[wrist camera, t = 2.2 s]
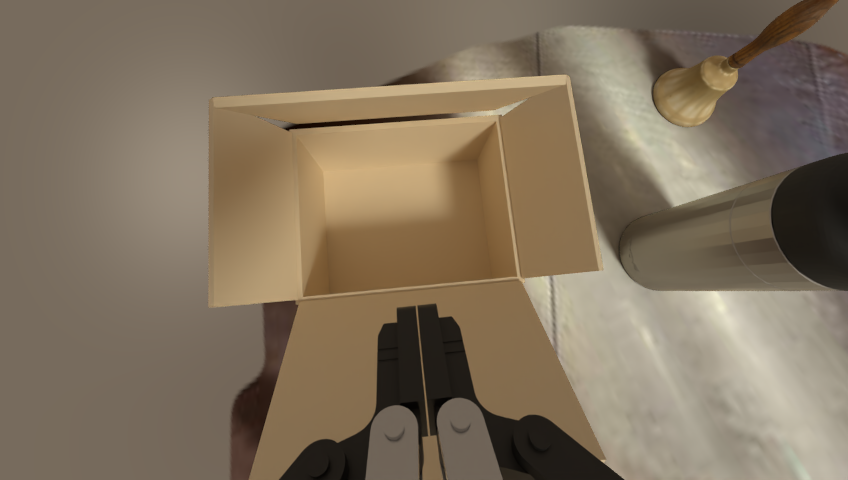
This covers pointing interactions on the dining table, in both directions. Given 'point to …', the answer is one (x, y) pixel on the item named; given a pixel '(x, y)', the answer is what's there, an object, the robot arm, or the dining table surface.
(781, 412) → the dining table surface
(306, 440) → the carton
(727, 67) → the hand bell
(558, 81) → the front flap
